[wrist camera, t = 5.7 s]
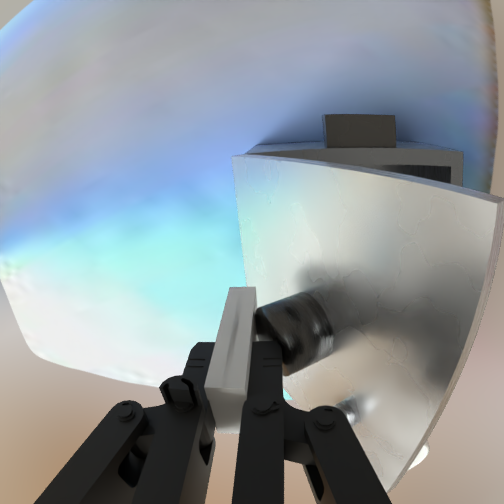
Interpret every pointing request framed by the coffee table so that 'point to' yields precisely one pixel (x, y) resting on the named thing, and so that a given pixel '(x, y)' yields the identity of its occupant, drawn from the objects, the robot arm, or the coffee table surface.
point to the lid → (367, 290)
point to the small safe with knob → (372, 149)
